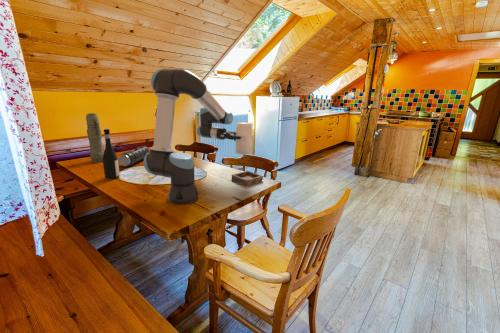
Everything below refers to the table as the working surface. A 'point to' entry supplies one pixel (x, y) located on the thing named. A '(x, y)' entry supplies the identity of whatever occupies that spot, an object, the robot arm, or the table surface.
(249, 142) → the ceramic canister
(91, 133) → the grey stone pillar
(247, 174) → the coaster tray
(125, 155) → the muzzle brake
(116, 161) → the wine bottle
